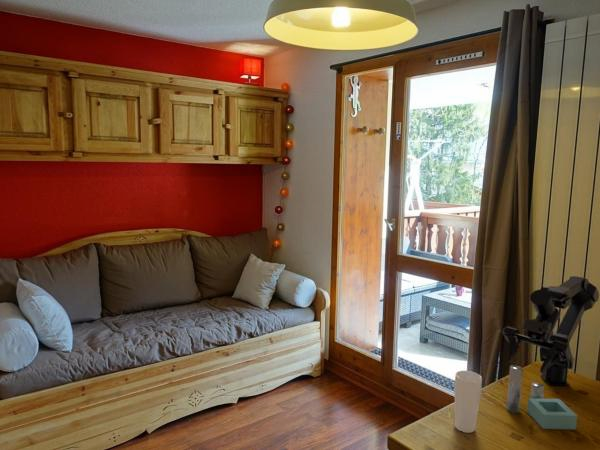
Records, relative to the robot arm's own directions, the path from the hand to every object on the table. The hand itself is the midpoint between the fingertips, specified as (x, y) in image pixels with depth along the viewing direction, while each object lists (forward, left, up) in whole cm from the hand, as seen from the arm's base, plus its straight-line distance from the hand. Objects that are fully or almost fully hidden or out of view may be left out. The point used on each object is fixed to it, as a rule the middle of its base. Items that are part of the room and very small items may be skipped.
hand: (524, 366), depth 139 cm
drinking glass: (+22, +13, -12) cm, 28 cm away
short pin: (-6, -4, -12) cm, 14 cm away
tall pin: (+4, +3, -12) cm, 13 cm away
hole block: (-4, +8, -12) cm, 15 cm away
